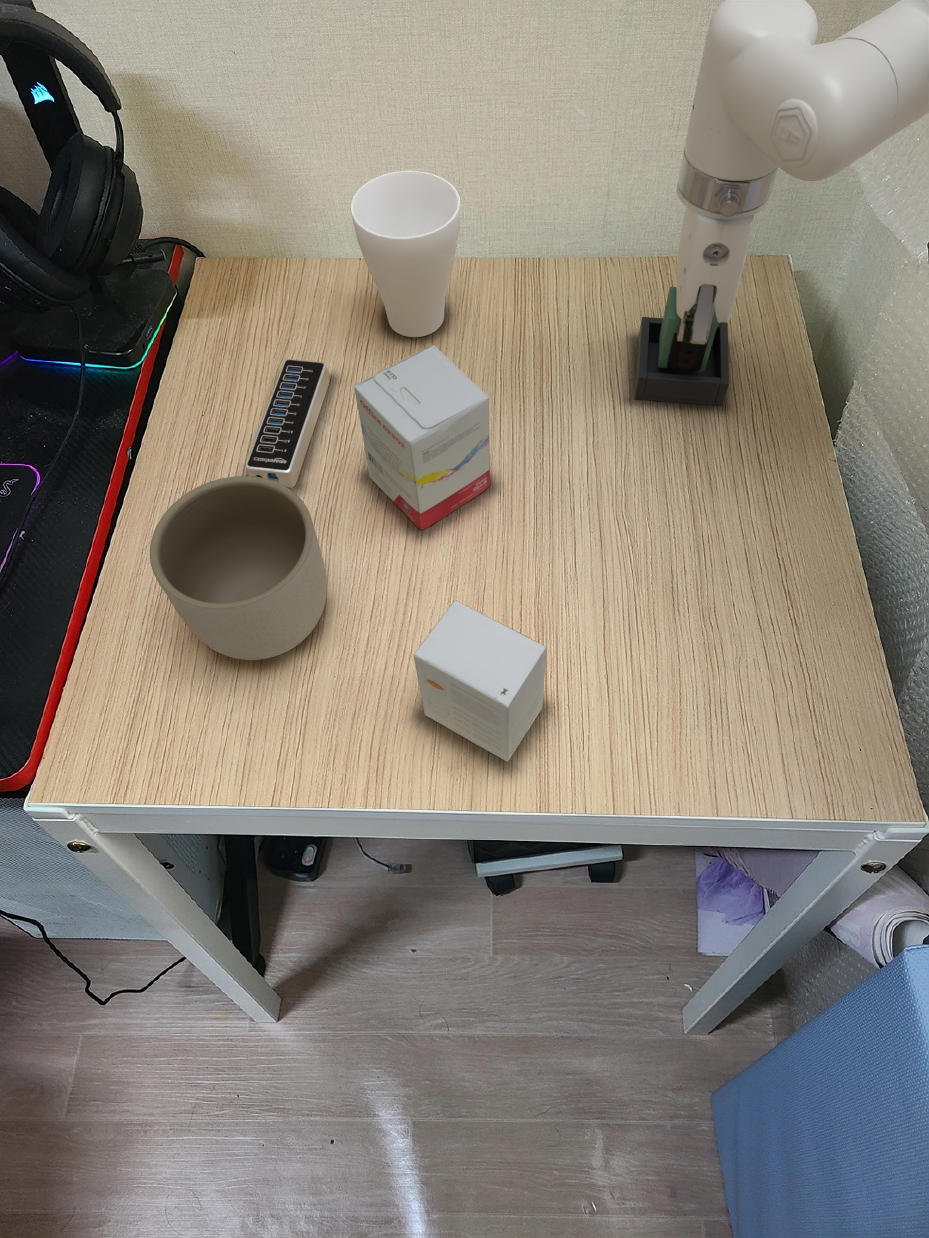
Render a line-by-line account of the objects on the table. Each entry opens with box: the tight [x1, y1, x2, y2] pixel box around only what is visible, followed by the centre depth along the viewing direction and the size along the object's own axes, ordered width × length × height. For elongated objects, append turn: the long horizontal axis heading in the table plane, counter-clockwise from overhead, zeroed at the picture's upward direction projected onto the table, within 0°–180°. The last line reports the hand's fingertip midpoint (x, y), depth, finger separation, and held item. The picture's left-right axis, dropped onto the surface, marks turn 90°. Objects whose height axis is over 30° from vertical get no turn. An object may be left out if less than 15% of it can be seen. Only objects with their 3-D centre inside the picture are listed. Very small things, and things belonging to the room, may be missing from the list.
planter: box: [149, 475, 328, 661], centre depth 71 cm, size 12×12×11 cm
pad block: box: [658, 286, 718, 371], centre depth 84 cm, size 4×4×6 cm
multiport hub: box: [245, 358, 331, 489], centre depth 85 cm, size 4×14×2 cm, turn 171°
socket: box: [634, 316, 730, 407], centre depth 87 cm, size 9×9×3 cm
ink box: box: [353, 344, 491, 531], centre depth 77 cm, size 9×9×12 cm
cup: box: [349, 170, 462, 338], centre depth 88 cm, size 10×10×14 cm
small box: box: [413, 599, 547, 763], centre depth 65 cm, size 8×6×10 cm
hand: (683, 347), depth 86 cm, fingers closed on pad block, 4 cm apart
